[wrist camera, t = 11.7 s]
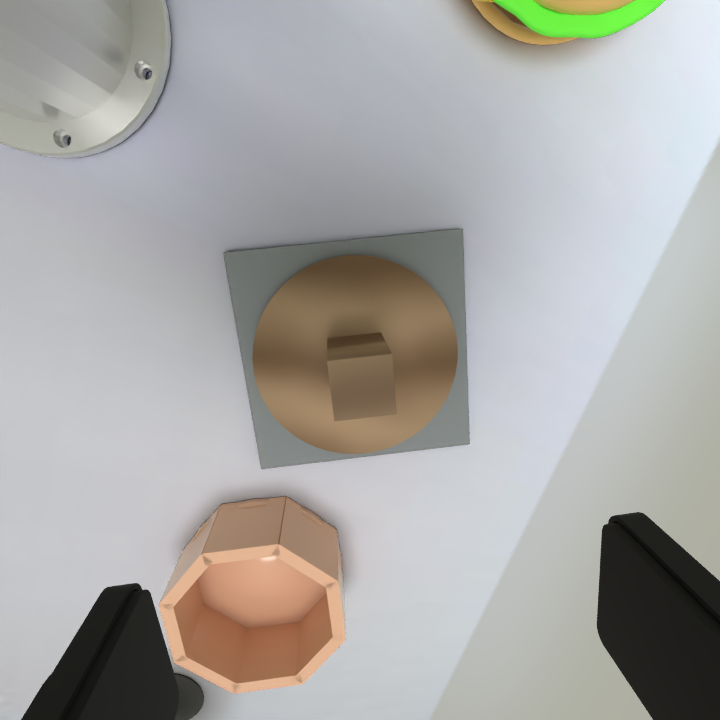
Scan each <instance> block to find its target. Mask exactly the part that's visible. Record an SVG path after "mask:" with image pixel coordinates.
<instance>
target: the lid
mask: <svg viewBox="0 0 720 720" xmlns="http://www.w3.org/2000/svg"><path fill="white" fill-rule="evenodd" d="M457 360H458V347H457V337H456V333H455V329H454V325H453V322H452V320H451V317H450V315H449V312H448V310H447V308H446V307H445V305H444V303H443V301H442V300H441V299H440V297H439V296H438V295H437V293H436V292H435V291H434V290H433V289H432V288H431V287H430V286H429V285H428V284H427V283H426V282H425V281H424V280H423V279H422V278H420V277H419V276H418V275H416V274H415V273H414V272H412V271H410V270H408V269H407V268H405V267H403V266H401V265H399V264H397V263H394V262H391V261H389V260H386V259H382V258H378V257H374V256H366V255H344V256H338V257H333V258H329V259H326V260H323V261H319V262H317V263H315V264H313V265H311V266H308V267H306V268H305V269H303V270H302V271H300V272H298V273H297V274H295V275H294V276H293V277H292V278H290V279H289V280H288V281H287V282H286V283H285V284H284V285H283V286H282V287H281V288H280V289H279V290H278V291H277V292H276V294H275V295H274V296H273V297H272V299H271V300H270V302H269V303H268V305H267V306H266V308H265V310H264V312H263V314H262V316H261V318H260V320H259V323H258V326H257V329H256V332H255V337H254V343H253V356H252V361H253V371H254V376H255V380H256V384H257V387H258V390H259V392H260V395H261V397H262V399H263V401H264V403H265V404H266V406H267V408H268V409H269V411H270V412H271V414H272V415H273V416H274V418H275V419H276V420H277V421H278V422H279V423H280V424H281V425H282V426H283V427H284V428H285V429H286V430H288V431H289V432H290V433H291V434H293V435H294V436H296V437H297V438H299V439H300V440H302V441H304V442H306V443H308V444H310V445H312V446H314V447H317V448H320V449H323V450H327V451H331V452H336V453H344V454H363V453H371V452H376V451H380V450H384V449H387V448H390V447H393V446H395V445H397V444H399V443H402V442H403V441H405V440H407V439H409V438H410V437H412V436H413V435H415V434H416V433H417V432H419V431H420V430H421V429H423V428H424V427H425V426H426V425H427V424H428V423H429V422H430V421H431V420H432V419H433V418H434V416H435V415H436V414H437V413H438V411H439V410H440V409H441V407H442V405H443V404H444V402H445V400H446V399H447V397H448V394H449V392H450V390H451V388H452V384H453V381H454V378H455V374H456V368H457Z"/></svg>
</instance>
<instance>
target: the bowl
mask: <svg viewBox="0 0 720 720" xmlns="http://www.w3.org/2000/svg"><path fill="white" fill-rule="evenodd" d="M159 609H160V612H161V616H162V620H163V623H164V627H165V631H166V634H167V638H168V642H169V646H170V649H171V653H172V657H173V660H174V662H175V663H176V664H177V665H179V666H181V667H183V668H185V669H187V670H189V671H191V672H193V673H195V674H197V675H199V676H200V677H202V678H204V679H206V680H208V681H210V682H212V683H214V684H216V685H218V686H220V687H222V688H224V689H225V690H227V691H229V692H231V693H234V694H235V693H243V692H250V691H257V690H264V689H271V688H279V687H286V686H293V685H300V684H302V683H303V684H304V682H305V681H306V680H307V679H308V678H309V677H310V676H311V675H312V674H313V673H314V672H315V671H316V670H317V669H318V668H319V667H320V666H321V665H322V664H323V663H324V662H325V661H326V660H327V659H328V658H329V657H330V656H331V655H332V654H333V653H334V651H335V650H336V649H337V648H338V647H339V646H340V645H341V644H342V643H343V642H344V641H345V640H346V627H345V605H344V583H343V574H342V555H341V550H340V546H339V542H338V535H337V530H336V529H335V528H334V527H332V526H331V525H329V524H328V523H326V522H325V521H323V520H322V519H321V518H320V517H319V516H317V515H316V514H315V513H313V512H312V511H310V510H308V509H306V508H305V507H302V506H300V505H299V504H297V503H296V502H294V501H293V500H291V499H290V498H288V497H286V496H284V497H276V498H260V499H250V500H245V501H241V502H235V503H227V504H221V505H220V506H219V507H218V508H217V510H216V511H215V512H214V513H213V514H212V516H211V517H210V518H208V519H207V520H206V521H205V522H204V523H203V524H202V526H201V527H200V528H199V530H198V531H197V532H196V534H195V536H194V537H193V538H192V540H191V541H190V542H189V543H188V544H187V546H186V547H185V548H184V550H183V552H182V554H181V556H180V559H179V561H178V563H177V565H176V567H175V570H174V572H173V574H172V576H171V579H170V581H169V583H168V585H167V587H166V590H165V592H164V594H163V596H162V598H161V601H160V603H159Z"/></svg>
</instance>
